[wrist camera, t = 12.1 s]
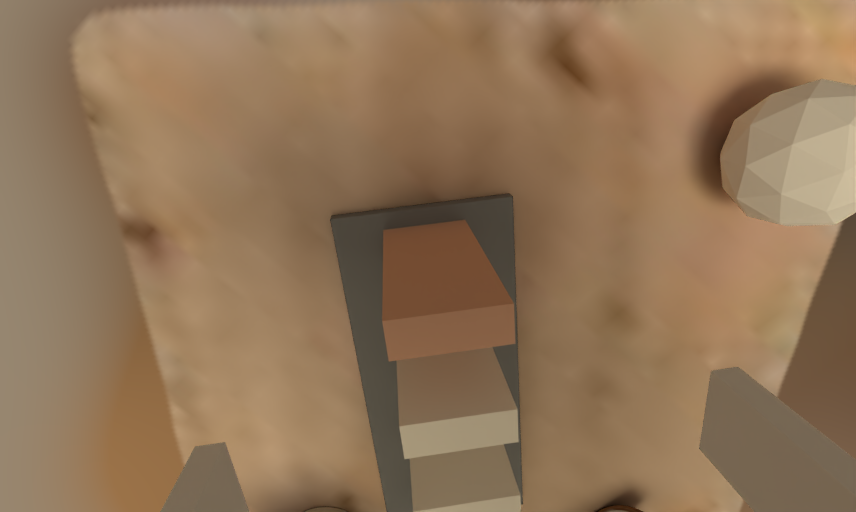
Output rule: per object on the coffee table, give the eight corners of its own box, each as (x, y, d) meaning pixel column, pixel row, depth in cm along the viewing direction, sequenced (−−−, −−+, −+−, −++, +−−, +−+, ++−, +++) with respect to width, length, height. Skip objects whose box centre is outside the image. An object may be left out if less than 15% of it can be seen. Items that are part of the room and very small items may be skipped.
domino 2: (472, 317, 29) (518, 441, 19) (397, 327, 29) (404, 459, 19) (470, 293, 29) (517, 409, 19) (394, 303, 29) (399, 426, 18)
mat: (520, 495, 37) (522, 504, 36) (389, 516, 37) (389, 525, 36) (509, 193, 27) (512, 196, 27) (331, 215, 27) (330, 219, 26)
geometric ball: (714, 173, 31) (737, 266, 27) (705, 78, 26) (731, 174, 21) (859, 143, 27) (914, 246, 23) (883, 24, 22) (961, 128, 17)
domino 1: (467, 247, 28) (515, 343, 17) (387, 257, 27) (388, 361, 17) (465, 219, 27) (514, 303, 17) (383, 229, 27) (382, 321, 16)
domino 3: (476, 378, 31) (521, 522, 21) (406, 388, 31) (417, 538, 21) (475, 357, 31) (520, 495, 20) (403, 367, 30) (413, 511, 20)
